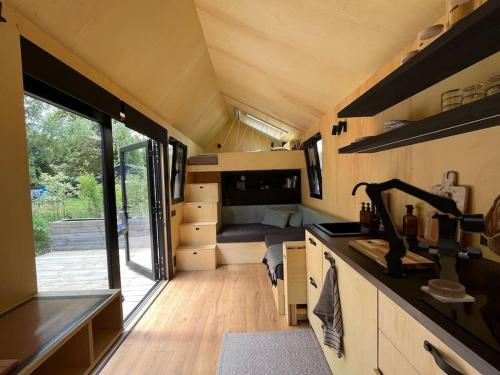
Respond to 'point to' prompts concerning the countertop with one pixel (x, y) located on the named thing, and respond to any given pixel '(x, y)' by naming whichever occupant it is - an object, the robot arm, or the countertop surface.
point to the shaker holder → (447, 291)
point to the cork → (448, 268)
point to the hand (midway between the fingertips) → (448, 272)
